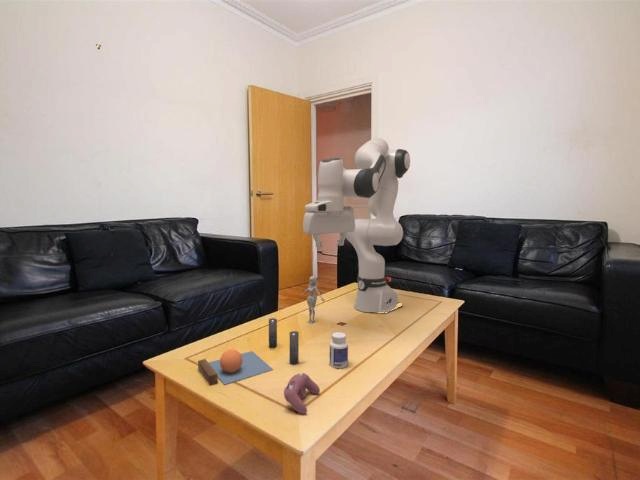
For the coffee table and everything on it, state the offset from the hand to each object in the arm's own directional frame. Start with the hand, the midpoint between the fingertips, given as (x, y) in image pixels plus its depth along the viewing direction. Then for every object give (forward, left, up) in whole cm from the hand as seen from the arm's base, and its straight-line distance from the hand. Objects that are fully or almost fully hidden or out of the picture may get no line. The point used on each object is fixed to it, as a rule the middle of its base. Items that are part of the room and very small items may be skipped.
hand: (329, 246), depth 119 cm
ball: (+39, +7, -28) cm, 48 cm away
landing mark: (+36, +6, -31) cm, 48 cm away
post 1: (+22, -1, -31) cm, 38 cm away
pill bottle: (+12, +20, -31) cm, 39 cm away
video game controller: (+30, +30, -31) cm, 53 cm away
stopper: (+45, +6, -31) cm, 55 cm away
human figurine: (-1, -12, -31) cm, 34 cm away
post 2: (+22, +12, -31) cm, 40 cm away
